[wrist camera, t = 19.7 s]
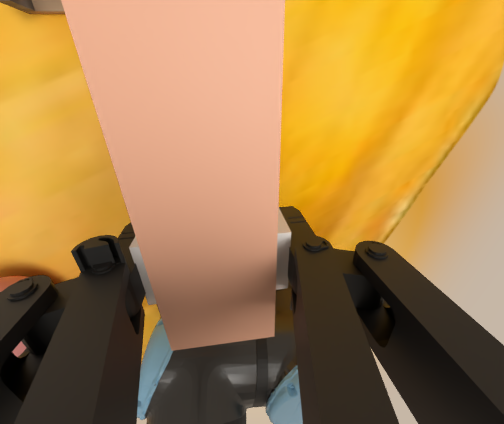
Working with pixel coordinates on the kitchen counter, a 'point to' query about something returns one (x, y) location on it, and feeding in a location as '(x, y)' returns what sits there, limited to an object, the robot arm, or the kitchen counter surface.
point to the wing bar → (194, 151)
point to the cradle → (37, 6)
